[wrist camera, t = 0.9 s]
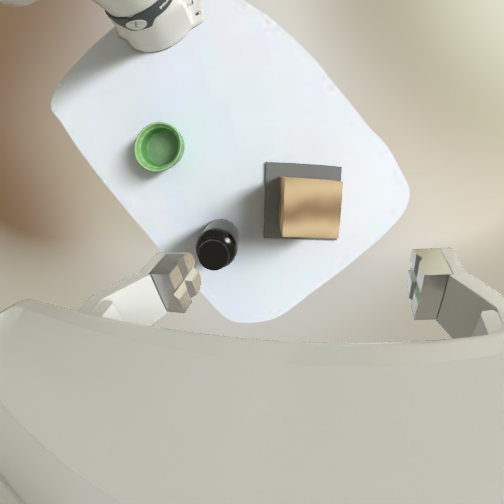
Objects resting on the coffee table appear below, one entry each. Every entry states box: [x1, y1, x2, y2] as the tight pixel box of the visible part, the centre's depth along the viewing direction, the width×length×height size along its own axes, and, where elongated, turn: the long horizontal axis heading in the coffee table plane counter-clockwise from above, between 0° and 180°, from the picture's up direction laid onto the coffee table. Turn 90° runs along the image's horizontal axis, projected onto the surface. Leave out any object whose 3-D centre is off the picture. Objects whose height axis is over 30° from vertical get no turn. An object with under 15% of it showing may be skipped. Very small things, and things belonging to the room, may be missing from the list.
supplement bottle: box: [196, 219, 239, 270], centre depth 48 cm, size 7×7×12 cm
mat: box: [264, 162, 341, 240], centre depth 51 cm, size 14×14×1 cm
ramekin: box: [134, 122, 184, 172], centre depth 46 cm, size 9×9×4 cm
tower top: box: [280, 177, 343, 238], centre depth 44 cm, size 9×9×4 cm
